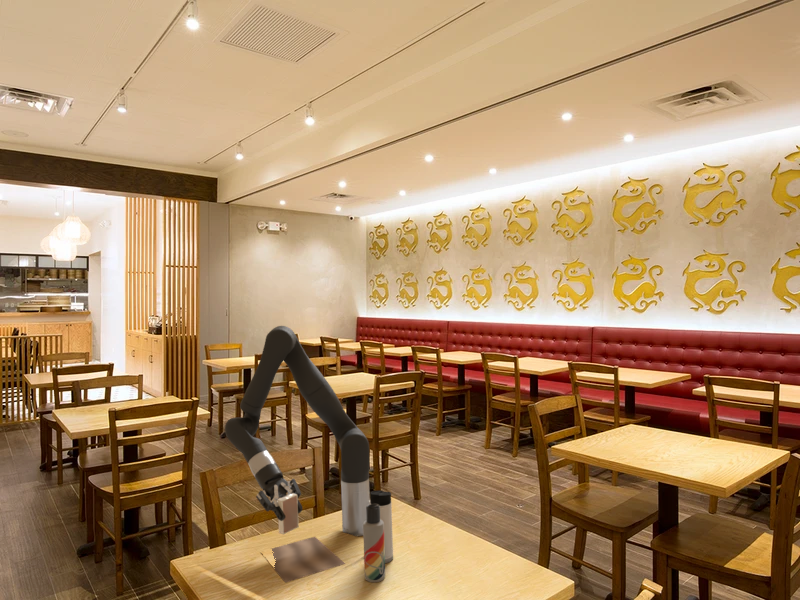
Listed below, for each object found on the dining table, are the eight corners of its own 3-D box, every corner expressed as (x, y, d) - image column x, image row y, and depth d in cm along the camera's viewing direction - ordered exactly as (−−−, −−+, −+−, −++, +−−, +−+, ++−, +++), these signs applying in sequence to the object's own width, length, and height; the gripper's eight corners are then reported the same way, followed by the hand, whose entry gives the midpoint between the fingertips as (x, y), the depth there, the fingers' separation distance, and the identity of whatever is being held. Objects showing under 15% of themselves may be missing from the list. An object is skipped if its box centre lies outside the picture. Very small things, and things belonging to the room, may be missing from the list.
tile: (278, 533, 160) (277, 499, 160) (294, 525, 165) (292, 493, 165) (283, 534, 159) (281, 500, 159) (298, 527, 164) (297, 494, 164)
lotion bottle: (376, 584, 144) (374, 510, 144) (360, 578, 147) (358, 505, 148) (389, 576, 148) (387, 503, 149) (373, 570, 152) (371, 499, 152)
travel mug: (367, 561, 157) (365, 493, 157) (378, 552, 163) (376, 486, 163) (386, 566, 154) (383, 496, 154) (396, 556, 160) (394, 488, 160)
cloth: (314, 539, 173) (314, 536, 173) (345, 567, 154) (345, 563, 154) (259, 555, 163) (259, 551, 163) (285, 586, 145) (285, 582, 145)
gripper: (251, 468, 161) (278, 516, 154) (288, 456, 172) (315, 500, 165) (241, 483, 164) (267, 531, 157) (278, 470, 176) (304, 514, 168)
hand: (292, 515), depth 161 cm, fingers closed on tile, 6 cm apart
